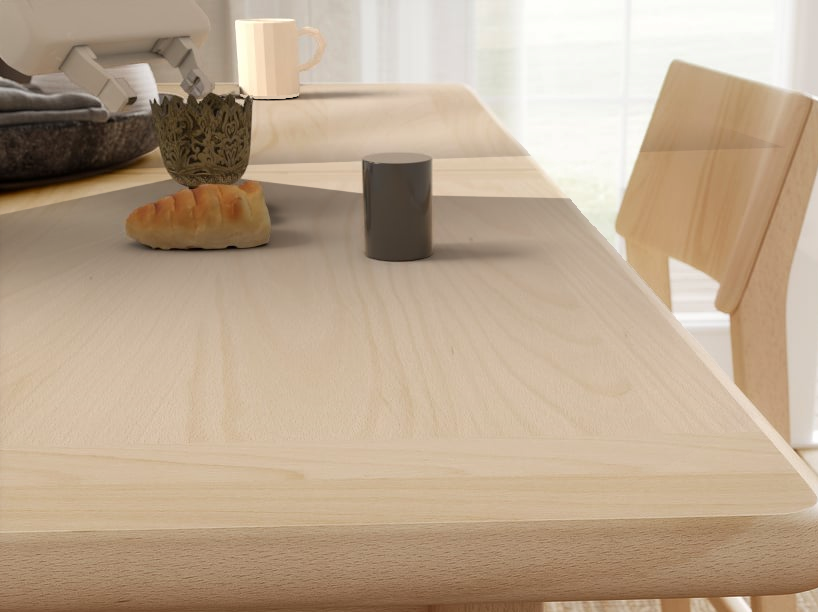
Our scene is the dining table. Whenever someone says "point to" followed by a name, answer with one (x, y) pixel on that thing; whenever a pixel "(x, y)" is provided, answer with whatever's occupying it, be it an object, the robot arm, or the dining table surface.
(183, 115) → the cup
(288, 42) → the mug
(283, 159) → the dining table surface
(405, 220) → the dark gray cylinder
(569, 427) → the dining table surface
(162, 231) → the pastry
